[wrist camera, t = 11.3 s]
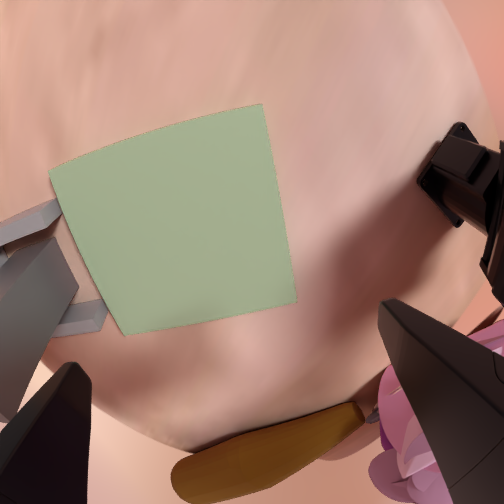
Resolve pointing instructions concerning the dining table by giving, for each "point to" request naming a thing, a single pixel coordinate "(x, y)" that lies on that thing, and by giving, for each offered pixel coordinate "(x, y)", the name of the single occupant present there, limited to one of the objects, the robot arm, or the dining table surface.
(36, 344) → the chute block
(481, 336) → the flower arrangement
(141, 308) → the two-tone flat tray
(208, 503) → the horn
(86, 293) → the dining table surface
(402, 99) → the dining table surface
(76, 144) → the dining table surface
